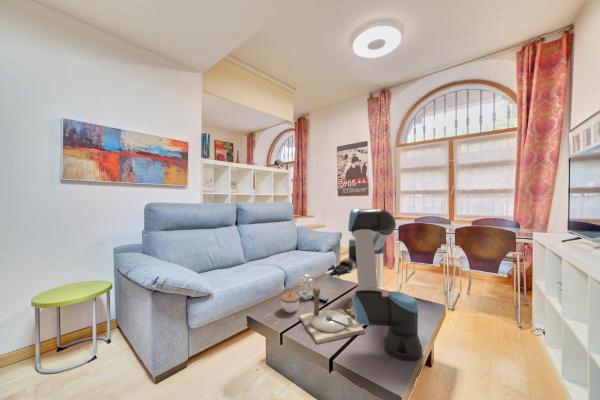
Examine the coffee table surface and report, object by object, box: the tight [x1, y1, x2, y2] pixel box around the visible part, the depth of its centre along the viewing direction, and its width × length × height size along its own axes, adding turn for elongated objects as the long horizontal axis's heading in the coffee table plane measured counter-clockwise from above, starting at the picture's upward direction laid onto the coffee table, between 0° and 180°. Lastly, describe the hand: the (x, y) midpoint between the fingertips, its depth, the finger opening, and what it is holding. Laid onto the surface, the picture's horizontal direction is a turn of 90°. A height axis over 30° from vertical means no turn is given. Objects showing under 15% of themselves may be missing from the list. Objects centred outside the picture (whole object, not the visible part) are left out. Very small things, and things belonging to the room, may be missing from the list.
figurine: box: [299, 273, 314, 301], centre depth 154 cm, size 7×9×15 cm
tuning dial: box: [311, 287, 349, 332], centre depth 122 cm, size 21×19×15 cm
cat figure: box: [346, 301, 355, 319], centre depth 136 cm, size 10×9×25 cm
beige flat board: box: [298, 307, 366, 344], centre depth 122 cm, size 24×25×2 cm
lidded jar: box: [280, 292, 300, 314], centre depth 138 cm, size 11×11×9 cm
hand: (326, 275), depth 132 cm, fingers closed
